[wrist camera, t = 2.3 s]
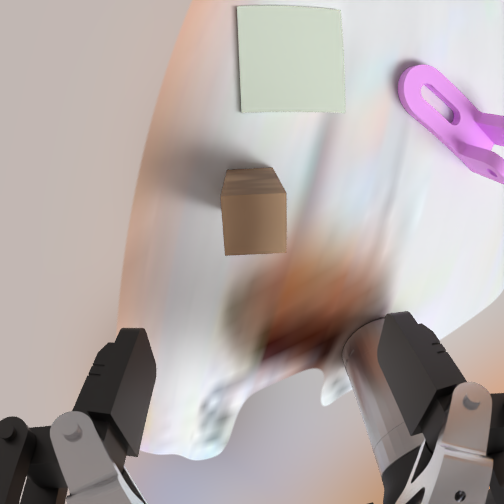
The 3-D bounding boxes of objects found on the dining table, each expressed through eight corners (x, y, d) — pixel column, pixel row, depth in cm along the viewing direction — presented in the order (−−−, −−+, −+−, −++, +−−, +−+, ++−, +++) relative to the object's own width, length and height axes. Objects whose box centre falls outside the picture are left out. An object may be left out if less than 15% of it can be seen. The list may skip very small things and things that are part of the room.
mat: (339, 11, 21) (340, 10, 21) (344, 113, 25) (345, 113, 25) (236, 7, 21) (236, 6, 21) (241, 112, 25) (241, 112, 25)
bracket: (490, 132, 26) (533, 142, 19) (471, 171, 28) (512, 188, 21) (411, 55, 23) (452, 46, 16) (387, 97, 25) (427, 97, 18)
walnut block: (272, 167, 27) (286, 192, 19) (273, 210, 29) (286, 252, 21) (227, 169, 27) (220, 196, 19) (229, 212, 29) (225, 255, 21)
